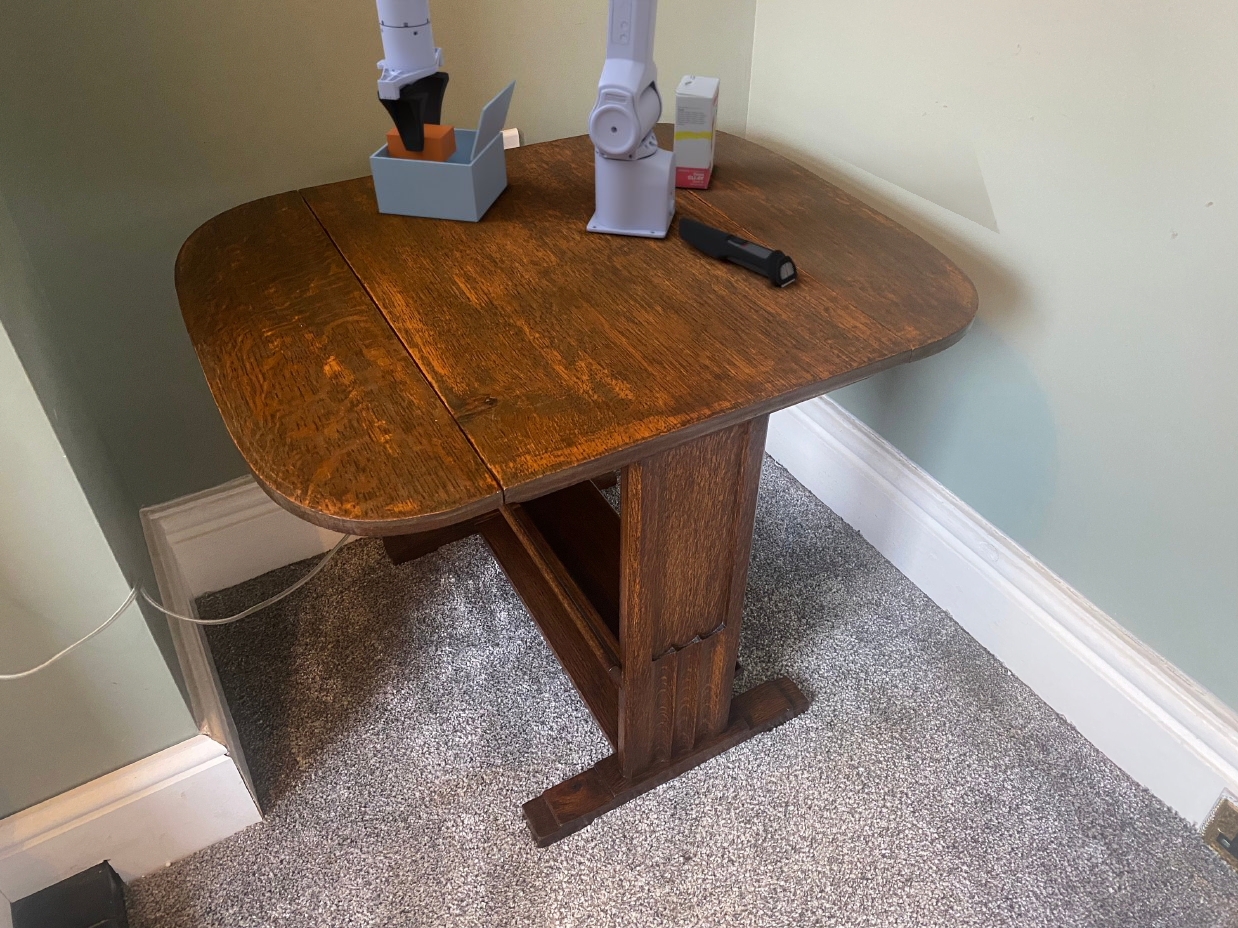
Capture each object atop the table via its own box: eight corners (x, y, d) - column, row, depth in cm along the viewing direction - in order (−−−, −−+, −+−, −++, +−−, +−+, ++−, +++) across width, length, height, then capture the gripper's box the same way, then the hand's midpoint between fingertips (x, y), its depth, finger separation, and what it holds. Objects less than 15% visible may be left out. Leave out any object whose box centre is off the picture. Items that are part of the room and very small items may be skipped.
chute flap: (501, 126, 107) (503, 128, 107) (469, 160, 99) (472, 161, 99) (513, 78, 103) (516, 80, 103) (482, 109, 94) (484, 110, 94)
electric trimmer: (691, 236, 101) (693, 210, 99) (798, 278, 92) (802, 251, 90) (670, 246, 99) (671, 220, 97) (777, 290, 90) (781, 262, 88)
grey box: (507, 185, 112) (502, 132, 108) (477, 222, 103) (471, 166, 99) (416, 177, 114) (408, 125, 110) (379, 212, 105) (369, 157, 101)
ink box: (707, 190, 111) (714, 96, 103) (670, 187, 112) (674, 93, 104) (714, 166, 117) (721, 76, 110) (679, 164, 118) (683, 74, 110)
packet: (456, 150, 107) (453, 126, 105) (443, 163, 103) (440, 138, 101) (404, 146, 108) (400, 122, 106) (389, 158, 104) (385, 134, 102)
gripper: (398, 6, 102) (415, 121, 111) (343, 36, 91) (367, 161, 100) (453, 9, 101) (466, 125, 110) (405, 39, 90) (423, 166, 99)
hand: (422, 143), depth 105 cm, fingers closed on packet, 4 cm apart
